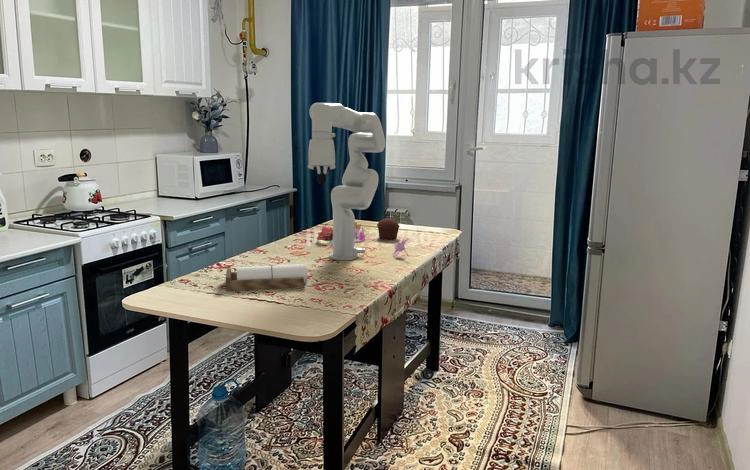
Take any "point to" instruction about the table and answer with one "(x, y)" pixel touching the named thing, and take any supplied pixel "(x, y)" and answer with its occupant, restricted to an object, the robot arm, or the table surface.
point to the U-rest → (260, 283)
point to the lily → (400, 247)
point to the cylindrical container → (272, 272)
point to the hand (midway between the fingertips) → (321, 183)
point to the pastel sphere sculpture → (327, 235)
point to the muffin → (388, 229)
